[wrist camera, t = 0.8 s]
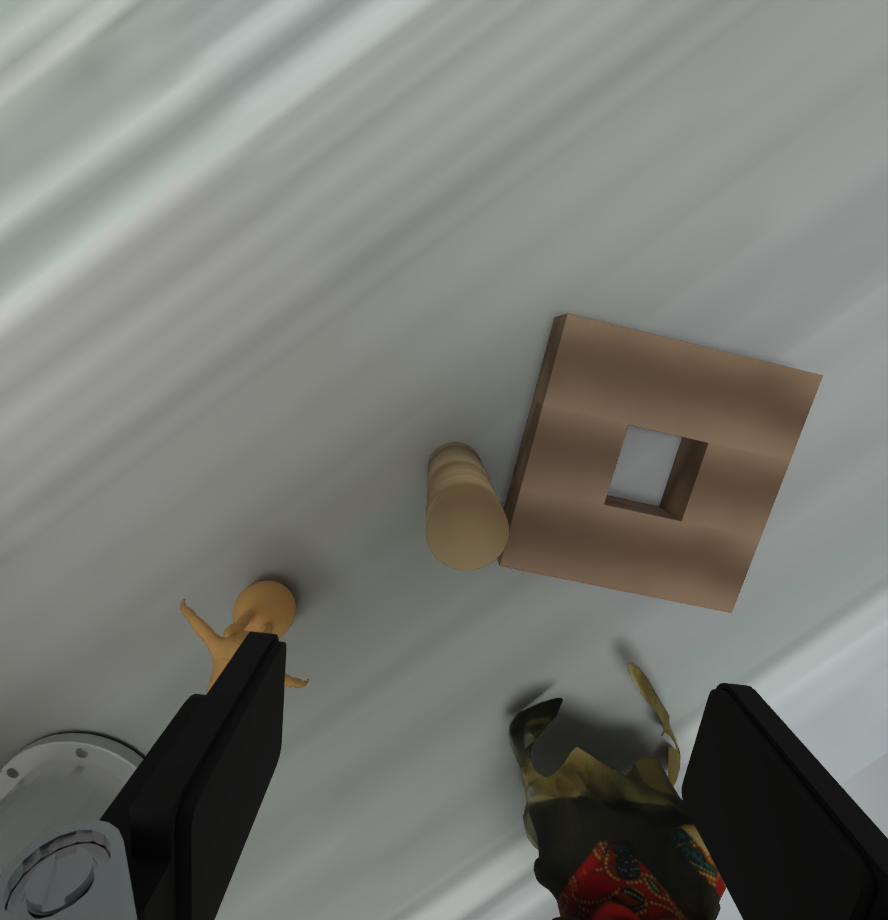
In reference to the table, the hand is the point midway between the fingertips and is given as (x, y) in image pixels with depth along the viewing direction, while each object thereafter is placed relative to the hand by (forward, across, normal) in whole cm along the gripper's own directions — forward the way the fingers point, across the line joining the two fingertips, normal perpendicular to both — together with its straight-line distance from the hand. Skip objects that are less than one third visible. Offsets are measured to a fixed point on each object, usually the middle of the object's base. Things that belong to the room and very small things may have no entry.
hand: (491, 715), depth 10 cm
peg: (+22, 0, 0) cm, 23 cm away
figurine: (+22, +11, +10) cm, 27 cm away
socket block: (+23, -12, -1) cm, 26 cm away
